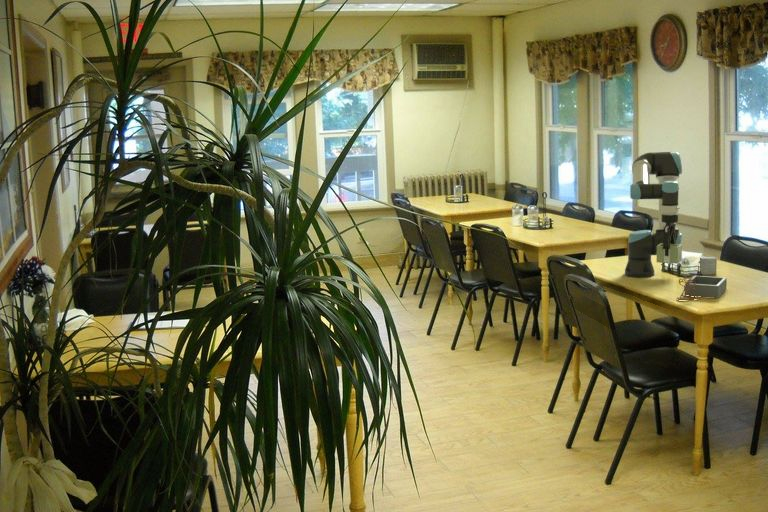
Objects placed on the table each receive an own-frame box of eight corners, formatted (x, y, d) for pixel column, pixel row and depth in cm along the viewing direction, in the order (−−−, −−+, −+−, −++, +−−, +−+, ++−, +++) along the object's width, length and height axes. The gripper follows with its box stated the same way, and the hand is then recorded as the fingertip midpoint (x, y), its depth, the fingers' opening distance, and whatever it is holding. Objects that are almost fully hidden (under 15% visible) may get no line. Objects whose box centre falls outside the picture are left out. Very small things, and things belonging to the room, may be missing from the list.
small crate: (656, 262, 430) (656, 245, 428) (660, 259, 437) (660, 243, 435) (677, 263, 425) (678, 247, 423) (681, 260, 431) (682, 244, 430)
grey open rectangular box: (684, 296, 421) (685, 283, 420) (694, 287, 437) (694, 275, 436) (718, 298, 413) (718, 285, 412) (726, 289, 430) (726, 277, 429)
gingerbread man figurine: (694, 298, 415) (695, 273, 413) (698, 300, 412) (698, 274, 410) (676, 299, 415) (676, 274, 413) (679, 301, 411) (680, 276, 409)
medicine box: (714, 273, 469) (714, 256, 467) (716, 274, 465) (716, 258, 463) (698, 273, 470) (699, 257, 468) (700, 275, 465) (701, 258, 464)
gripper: (672, 217, 416) (672, 265, 420) (682, 211, 433) (682, 257, 437) (656, 216, 420) (655, 264, 424) (667, 210, 437) (666, 256, 441)
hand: (669, 260), depth 430 cm, fingers closed on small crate, 8 cm apart
